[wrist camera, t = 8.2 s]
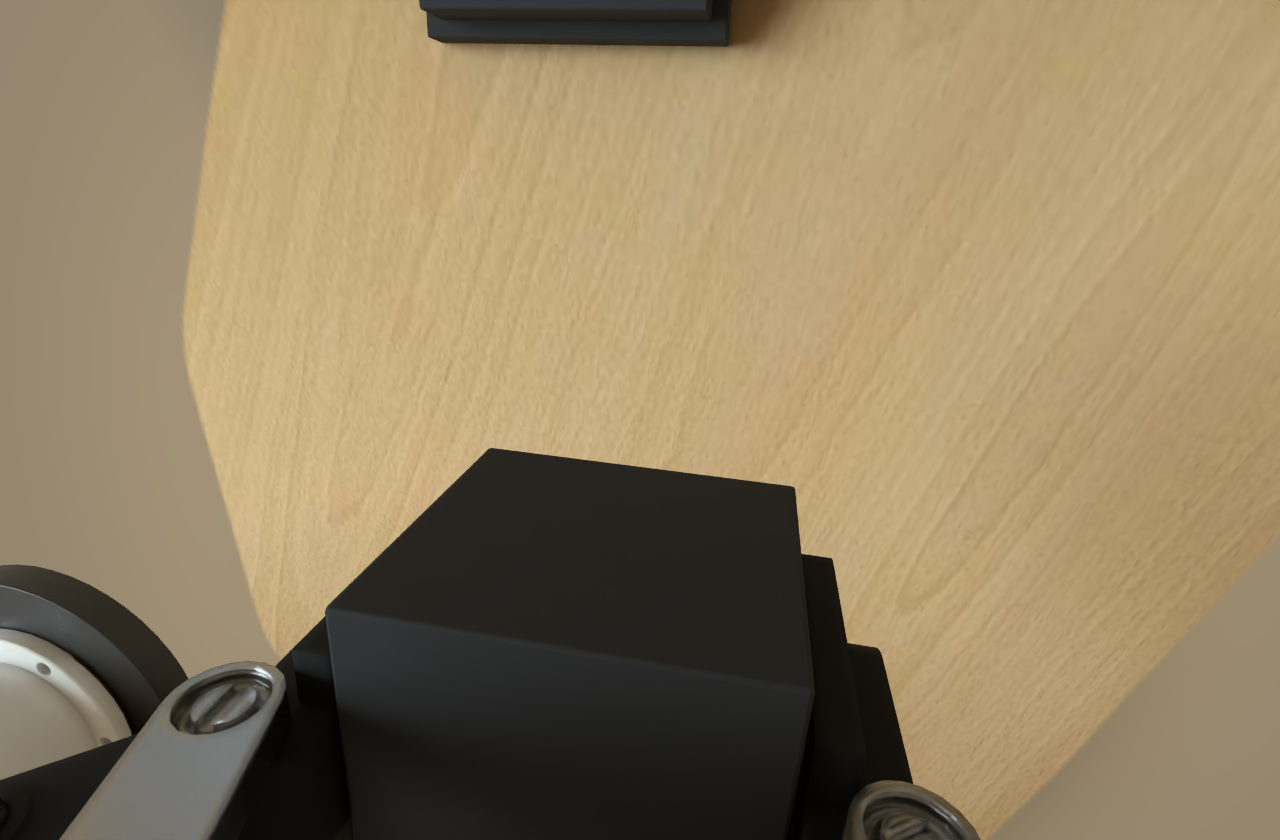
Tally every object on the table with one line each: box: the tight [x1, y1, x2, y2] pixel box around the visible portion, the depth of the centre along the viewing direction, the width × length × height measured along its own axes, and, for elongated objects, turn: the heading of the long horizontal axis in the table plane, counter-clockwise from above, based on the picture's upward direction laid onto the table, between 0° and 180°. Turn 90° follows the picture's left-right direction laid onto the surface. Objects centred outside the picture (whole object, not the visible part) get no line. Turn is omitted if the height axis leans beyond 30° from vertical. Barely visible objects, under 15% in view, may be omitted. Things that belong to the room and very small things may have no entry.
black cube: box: [325, 448, 815, 840], centre depth 9 cm, size 5×5×4 cm
